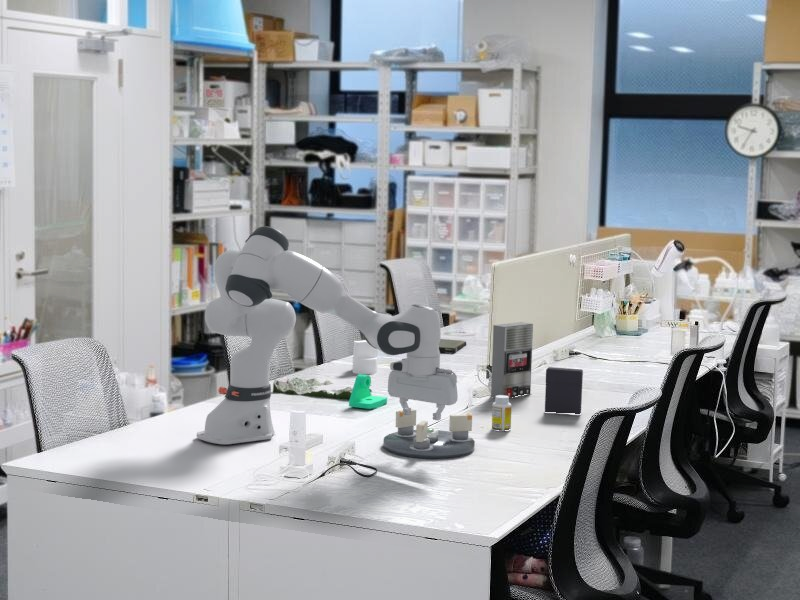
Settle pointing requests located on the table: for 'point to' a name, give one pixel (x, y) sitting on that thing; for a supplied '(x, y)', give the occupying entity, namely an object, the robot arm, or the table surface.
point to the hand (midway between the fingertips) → (421, 417)
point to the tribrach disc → (439, 445)
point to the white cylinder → (364, 358)
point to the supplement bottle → (501, 413)
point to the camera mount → (364, 394)
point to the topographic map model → (310, 389)
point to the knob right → (460, 426)
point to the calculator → (563, 390)
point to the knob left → (421, 436)
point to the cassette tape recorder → (511, 359)
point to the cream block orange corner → (405, 422)
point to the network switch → (450, 346)
